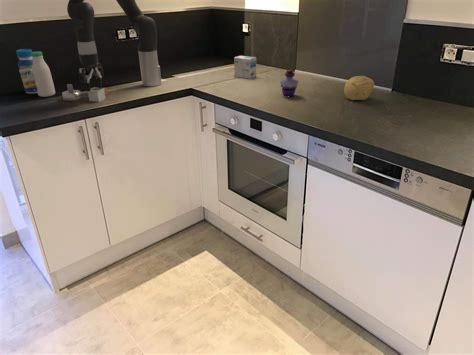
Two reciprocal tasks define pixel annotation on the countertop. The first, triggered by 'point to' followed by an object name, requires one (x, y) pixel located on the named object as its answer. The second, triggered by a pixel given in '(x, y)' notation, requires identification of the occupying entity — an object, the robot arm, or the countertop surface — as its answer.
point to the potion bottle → (289, 84)
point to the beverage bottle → (26, 70)
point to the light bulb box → (245, 67)
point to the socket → (96, 94)
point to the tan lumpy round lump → (358, 88)
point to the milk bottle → (42, 75)
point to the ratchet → (75, 94)
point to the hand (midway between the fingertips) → (94, 88)
